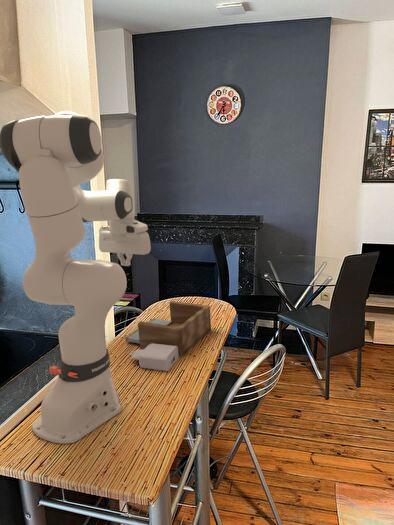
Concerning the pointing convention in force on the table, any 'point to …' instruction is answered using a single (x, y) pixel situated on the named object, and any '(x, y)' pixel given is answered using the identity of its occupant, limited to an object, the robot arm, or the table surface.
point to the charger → (156, 356)
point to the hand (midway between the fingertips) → (125, 265)
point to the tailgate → (135, 335)
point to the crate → (178, 327)
